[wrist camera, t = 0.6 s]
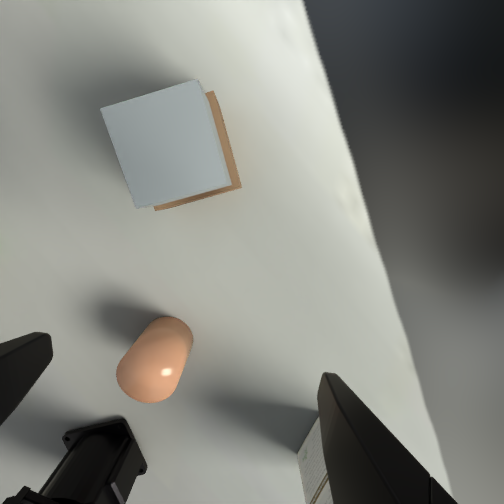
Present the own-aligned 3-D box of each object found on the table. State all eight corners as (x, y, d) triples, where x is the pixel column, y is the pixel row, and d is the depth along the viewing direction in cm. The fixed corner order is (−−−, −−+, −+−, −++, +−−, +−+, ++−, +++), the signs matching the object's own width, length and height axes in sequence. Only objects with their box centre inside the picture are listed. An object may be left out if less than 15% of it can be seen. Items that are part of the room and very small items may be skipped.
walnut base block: (170, 207, 21) (155, 210, 18) (144, 130, 20) (122, 118, 17) (242, 187, 21) (239, 187, 18) (220, 107, 20) (213, 90, 16)
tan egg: (154, 365, 24) (129, 408, 20) (137, 323, 24) (106, 357, 19) (199, 354, 24) (186, 395, 19) (184, 311, 23) (165, 343, 18)
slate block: (158, 205, 18) (136, 208, 15) (130, 125, 17) (99, 108, 13) (232, 184, 18) (226, 183, 14) (209, 101, 17) (197, 78, 13)
